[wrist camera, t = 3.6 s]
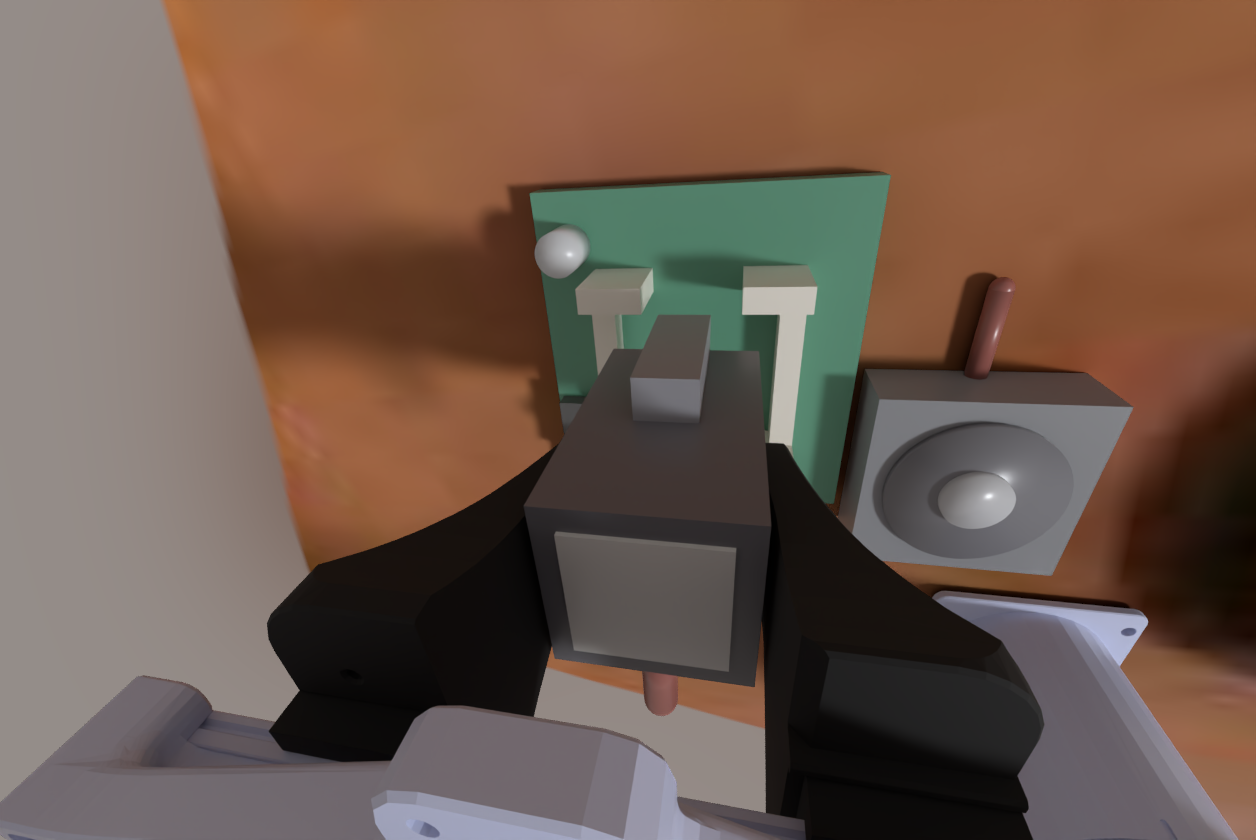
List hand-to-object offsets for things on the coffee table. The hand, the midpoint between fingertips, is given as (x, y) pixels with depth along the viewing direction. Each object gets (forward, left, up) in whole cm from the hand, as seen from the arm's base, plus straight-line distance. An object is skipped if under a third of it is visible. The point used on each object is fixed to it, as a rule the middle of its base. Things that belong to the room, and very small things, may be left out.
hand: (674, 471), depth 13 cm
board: (0, 0, -8) cm, 8 cm away
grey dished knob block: (-2, -10, -8) cm, 13 cm away
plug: (0, 0, -3) cm, 3 cm away
